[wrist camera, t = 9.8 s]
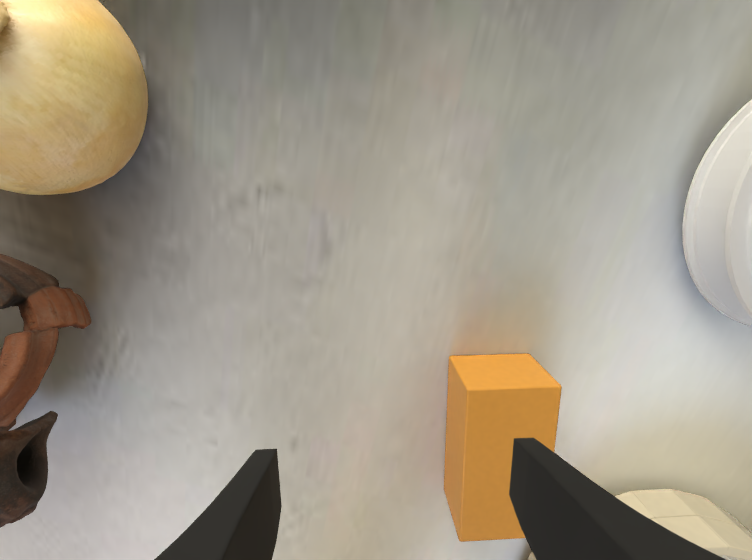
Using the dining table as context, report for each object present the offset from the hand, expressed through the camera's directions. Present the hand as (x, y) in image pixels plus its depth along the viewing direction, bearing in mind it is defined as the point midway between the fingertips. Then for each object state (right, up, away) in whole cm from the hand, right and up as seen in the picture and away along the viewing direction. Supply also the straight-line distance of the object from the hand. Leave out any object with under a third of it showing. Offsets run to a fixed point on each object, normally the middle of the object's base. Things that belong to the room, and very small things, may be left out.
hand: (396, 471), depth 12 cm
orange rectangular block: (+5, -2, +11) cm, 12 cm away
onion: (-14, +14, +6) cm, 20 cm away
